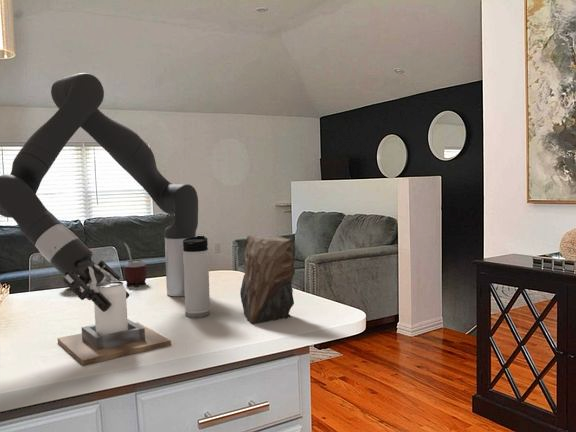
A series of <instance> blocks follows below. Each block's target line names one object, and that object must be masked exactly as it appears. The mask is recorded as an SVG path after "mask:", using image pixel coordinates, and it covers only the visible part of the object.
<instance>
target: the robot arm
mask: <svg viewBox="0 0 576 432" xmlns="http://www.w3.org/2000/svg"><path fill="white" fill-rule="evenodd" d="M50 95H51V98H52V100H53V103H54V104H55V107H57V108H58V109H57V111H56V112H55V113H54V114H53V115H52V116H51V117H50V118H49V119H48V120H47V121H45V122H44V124H42V125H41V126H40V127H38V129H37V130H36V131H35V132H34V133H33V134H31V136H30V137H29V138H28V139H27V140H26V142H25V143H24V144H23V146H22V147H21V148H20V150H19V152H18V153H17V154H16V156H15V157H14V159H13V161H12V166H11V172H10V174H1V175H0V216H2V217H4V218H11V219H12V220H14V221H15V222H16V224H17V227H18V228H19V231H21V233H22V234H23V236H24V237H25V238H26V239H27V240H28V241H29V242H30V243H31V244H32V245H34V247H35V248H36V249H37V250H38V252H39V253H40V254H41V255H42V256H43V258H45V259H46V261H47V262H49V264H51V265H52V266H53V267H54V268H55V270H57V271H58V272H59V273H60V274H61V276H62V275H63V276H64V277H65V278H64V277H63V276H62V277H63V279H62V281H63V282H64V283H65V285H66V286H67V287H68V288H70V289H69V290H71V291H72V292H73V293H74V294H75V295H76V297H78V299H80V300H81V301H84V300H85V299H87V300H88V301H91V302H92V303H93V304H94V303H95V304H96V305H97V306H98V307H99V308H100V309H101V310H102V311H103V312H105V311H107V310H108V309H109V308H110V307H111V303H110V302H109V301H108V300H107V299H106V298H105V297H104V296H103V295H102V294H101V293H100V292H98V289H97V287H96V284H98V283H102V282H109V281H120V280H121V276H120V275H119V274H118V273H117V272H115V270H113V269H112V268H111V266H109V265H108V264H107V263H106V262H105V261H104V260H100V261H99V262H97V263H95V262H94V261H92V257H93V251H92V250H91V249H90V248H89V247H88V246H87V245H86V244H85V243H84V241H82V240H80V238H79V237H78V236H77V235H76V234H74V232H73V231H72V230H70V229H69V228H68V227H67V226H65V225H64V224H63V223H62V222H61V221H60V220H59V219H58V218H57V217H56V216H55V215H54V214H53V213H51V212H50V210H48V209H47V207H46V206H45V205H44V203H43V202H42V201H41V199H40V198H39V197H38V195H37V193H38V190H39V188H40V185H41V184H42V183H41V182H42V181H43V179H44V178H45V176H46V174H47V173H48V171H50V169H51V167H52V165H53V164H54V162H55V161H56V159H57V158H58V157H59V154H60V153H61V152H62V150H63V149H64V147H65V146H66V145H67V144H68V142H69V140H71V138H72V137H73V135H75V133H76V132H77V131H78V130H79V129H80V128H81V129H83V130H84V132H86V133H87V134H88V135H89V136H90V137H92V139H93V140H94V141H95V142H96V143H97V144H98V145H99V146H100V147H102V149H104V151H106V152H107V153H108V154H109V155H110V156H111V158H112V159H113V160H114V161H115V162H116V163H117V164H118V165H119V166H120V167H121V168H122V169H123V170H124V171H125V172H127V173H128V174H129V175H130V176H131V177H132V178H133V179H134V180H135V181H136V182H137V184H139V185H140V186H141V187H142V188H143V190H145V192H146V193H147V194H148V196H149V197H150V198H151V200H153V202H154V203H155V205H156V206H157V207H158V208H159V209H160V210H161V211H162V212H164V213H166V214H168V215H174V220H173V222H172V224H171V225H168V226H167V227H165V229H164V248H165V249H164V251H165V255H164V256H165V276H166V283H165V284H166V295H167V296H170V297H171V296H172V297H185V289H184V262H183V248H184V247H183V240H184V239H187V238H192V237H197V234H196V232H197V229H198V225H199V197H198V192H197V190H196V188H195V187H194V186H193V185H191V184H187V183H172V182H170V181H169V180H167V179H166V178H165V176H163V174H162V173H161V172H160V170H158V167H157V163H156V162H157V161H156V159H155V155H154V153H153V150H152V149H151V148H150V146H149V145H148V143H146V142H145V141H144V140H143V139H142V138H141V136H140V135H138V134H137V132H136V131H134V130H132V129H131V128H129V127H127V126H126V125H123V124H122V123H120V122H118V121H116V120H114V119H112V118H110V117H108V116H107V115H105V113H103V112H102V111H101V110H100V109H99V107H100V106H101V105H102V103H103V101H104V97H105V91H104V86H103V84H102V82H101V80H100V79H99V78H97V77H96V76H95V75H93V74H91V73H87V72H81V73H80V72H78V73H75V74H72V75H68V76H65V77H62V78H60V79H57V80H56V81H54V82H53V83H52V85H51V88H50ZM79 287H80V289H81V290H79ZM97 292H98V293H97ZM129 297H130V293H129V292H128V291H127V290H126V300H127V299H128V298H129Z"/></svg>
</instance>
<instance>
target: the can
mask: <svg viewBox="0 0 576 432" xmlns="http://www.w3.org/2000/svg"><path fill="white" fill-rule="evenodd" d="M96 287H97V289H98V292H100V293H101V294H102V295H103V296H104V297H105V298H106V299H107V300H108V301H109V302H110V303H111V307H110V308H109V309H108V310H107V311H105V312H103V311H102V310H101V309H100V308H99V307H98V306H97V305H96V304H95V303H94V302H93V304H94V306H93V307H94V323H95V324H94V325H95V326H96V333H98V334H99V335H106V334H111V333H115V332H120V331H125V330H128V321H127V319H128V307H127V305H128V304H127V303H128V301H127V299H126V291H127V290H126V288H125V286H124V282H123V281H120V280H119V281H109V282H102V283H98V284H96ZM98 292H97V293H98Z"/></svg>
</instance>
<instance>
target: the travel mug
mask: <svg viewBox="0 0 576 432" xmlns="http://www.w3.org/2000/svg"><path fill="white" fill-rule="evenodd" d="M208 243H209V242H208V238H207V237H205V235H196V237H192V238H187V239H184V240H183V247H184V248H183V262H184V289H185V296H184V311H185V312H184V313H185V316H186V317H187V318H194V319H195V318H196V319H197V318H199V319H200V318H204V317H207V316H209V315H210V314H211V303H210V301H211V300H210V299H211V298H210V276H209V275H210V272H209V265H210V264H209V248H208Z"/></svg>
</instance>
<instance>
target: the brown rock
mask: <svg viewBox="0 0 576 432" xmlns="http://www.w3.org/2000/svg"><path fill="white" fill-rule="evenodd" d="M246 240H247V243H246V248H245V251H244V254H243V259H242V261H243V270H244V271H243V272H244V274H243V278H242V283H241V287H240V294H239V295H240V300H241V305H242V309H243V315H244V317H245V318H246V321H247V322H249V324H250V325H255V324H261V323H267V322H272V321H271V320H273V321H277V320H284V319H283V318H285V319H288V317H289V318H291V317H290V315H291V314H290V311H291V309H292V307H293V306H294V304H295V301H294V294H293V291H294V290H293V288H292V287H293V286H292V283H293V279H294V275H295V274H296V270H295V266H294V264H295V262H294V259H295V258H294V254H293V242H294V240H293V238H292V237H290V238H287V237H284V236H282V235H281V236H280V235H277V236H276V235H275V236H258V235H250V234H249V235H247V237H246Z"/></svg>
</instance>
